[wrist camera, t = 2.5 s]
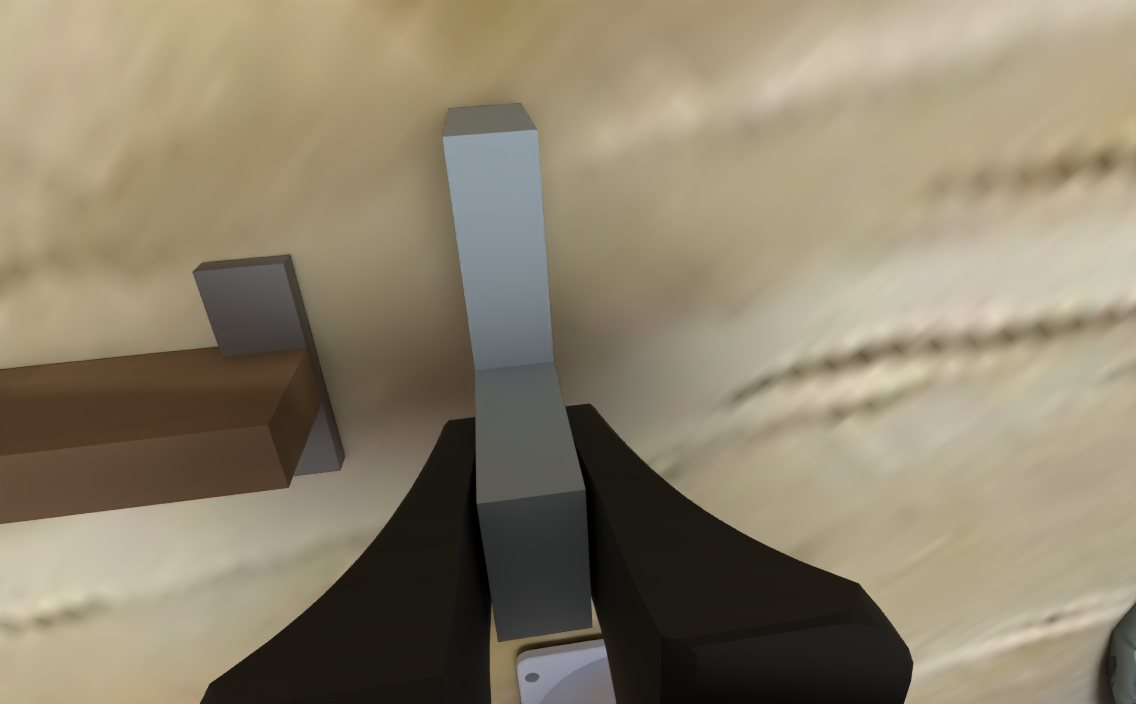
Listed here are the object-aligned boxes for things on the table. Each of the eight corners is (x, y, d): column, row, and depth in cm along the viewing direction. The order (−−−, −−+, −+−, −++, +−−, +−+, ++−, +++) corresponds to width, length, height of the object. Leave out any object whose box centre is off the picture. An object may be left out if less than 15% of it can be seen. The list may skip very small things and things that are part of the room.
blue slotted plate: (554, 510, 20) (600, 777, 13) (503, 517, 20) (521, 792, 13) (520, 103, 14) (569, 181, 7) (449, 108, 14) (427, 193, 7)
